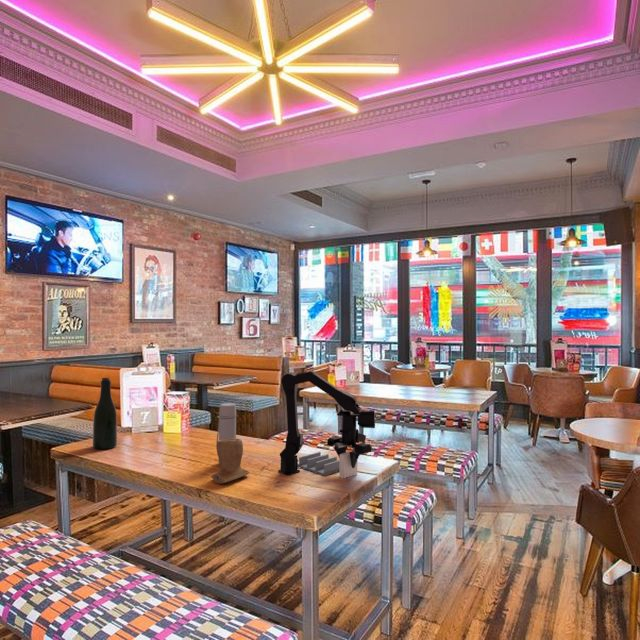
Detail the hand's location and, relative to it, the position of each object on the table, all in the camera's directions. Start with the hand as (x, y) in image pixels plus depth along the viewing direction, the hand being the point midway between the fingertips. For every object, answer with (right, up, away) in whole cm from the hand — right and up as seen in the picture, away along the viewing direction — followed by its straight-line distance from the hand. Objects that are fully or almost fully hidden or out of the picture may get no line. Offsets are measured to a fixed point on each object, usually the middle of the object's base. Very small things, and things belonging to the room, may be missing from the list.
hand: (348, 466), depth 184 cm
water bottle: (-51, -3, +14) cm, 53 cm away
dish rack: (-10, -4, +10) cm, 15 cm away
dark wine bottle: (-113, -3, +37) cm, 119 cm away
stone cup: (-46, -3, -5) cm, 47 cm away
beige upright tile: (0, -4, 0) cm, 4 cm away
